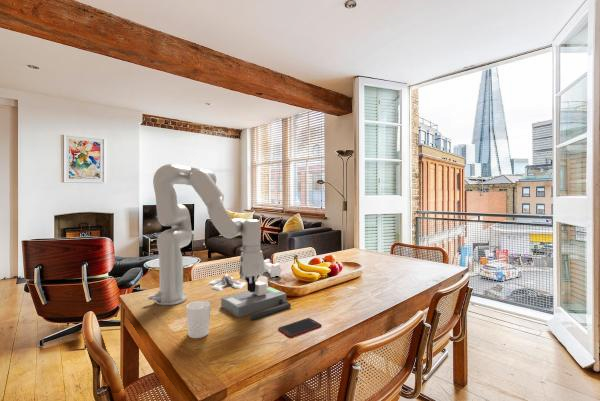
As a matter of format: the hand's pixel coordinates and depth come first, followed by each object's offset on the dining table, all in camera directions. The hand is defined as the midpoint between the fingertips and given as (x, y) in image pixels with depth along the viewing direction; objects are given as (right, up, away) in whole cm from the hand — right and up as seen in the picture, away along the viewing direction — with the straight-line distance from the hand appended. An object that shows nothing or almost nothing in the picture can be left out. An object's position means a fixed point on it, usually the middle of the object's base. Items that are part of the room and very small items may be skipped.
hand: (251, 291), depth 128 cm
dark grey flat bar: (+8, -7, -6) cm, 12 cm away
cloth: (-18, -6, +29) cm, 35 cm away
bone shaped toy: (+3, -5, +47) cm, 47 cm away
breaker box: (+1, -6, +1) cm, 6 cm away
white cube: (+3, -2, +3) cm, 5 cm away
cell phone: (+21, -8, -20) cm, 30 cm away
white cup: (-14, -7, -25) cm, 30 cm away
